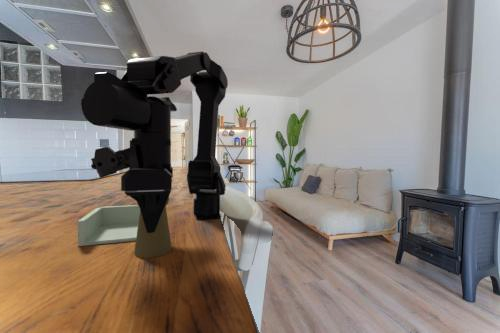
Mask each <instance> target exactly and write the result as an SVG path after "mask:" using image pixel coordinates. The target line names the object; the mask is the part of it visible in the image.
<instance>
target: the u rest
mask: <svg viewBox="0 0 500 333" xmlns="http://www.w3.org/2000/svg"><path fill="white" fill-rule="evenodd" d="M139 215H140V207H139V206H138V205H137V204H134V205H133V204H129V205H128V204H127V205H113V206H97V207H96V208H94V209H93V210H91V211H90V212H89V213H87V214H86V215H84V216H83V217H82V218H80V219H79V220H77V246H78V247H83V246H84V247H85V246H95V245H105V244H106V245H107V244H113V243H114V244H115V243H116V244H117V243H126V242H136V237H137V229H138V222H139Z"/></svg>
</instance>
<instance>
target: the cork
mask: <svg viewBox="0 0 500 333" xmlns="http://www.w3.org/2000/svg"><path fill="white" fill-rule="evenodd" d="M169 201H170V196H169V197H168V200H167V202H166V205H165V207H164V210H163V212H162V214H161V217H160V220H159V222H158V225H157V227H156V230H155V232H153V233H147V231H146V228H145V224H144V221H143V217H142V214H141V211H140V215H139V222H138V229H137V237H136V241H135V245H134V251H133V252H134V256H135V257H137V258H140V259H152V258H153V259H154V258H159V257H162V256H164V255H167V254H168V253H170V252H171V251H172V248H173V247H172V241H171V233H170V226H169V221H168V220H169V219H168V212H167V205H168V204H169ZM136 203H137V204H136V205H138V206H139V204H138V202H137V201H136Z"/></svg>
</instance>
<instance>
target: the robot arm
mask: <svg viewBox="0 0 500 333" xmlns="http://www.w3.org/2000/svg"><path fill="white" fill-rule="evenodd" d="M188 77H190V80H189V81H190V83H191V84H192V86H194V87H195V88H194V89H195V93H196V96H197V97H198V99H199V101H200V105H199V106H200V108H199V109H200V110H199V121H198V123H199V124H198V133H197V134H198V135H197V148H196V149H197V150H196V155H195V157H194V159H191V160H189V161H188V164H187V166H188V168H187V174H186V181H187V187H188V192H189V194H190V195H195V198H193V199H192V201H193V202H192V208H193V211H192V212H193V216H195V220H207V219H208V220H209V219H219V218H220V219H221V218H222V215H221V213H220V212H221V211H220V210H221V196H224V195H225V194H226V187H227V186H226V183H225V180H224V177H223V176H222V173H221V166H220V164H219V162H218V159H217V158H216V151H217V150H216V148H217V134H218V119H219V106H220V105H221V103H222V102H223V101H224V99H225V97H226V94H227V93H226V92H227V88H228V84H229V82H228V78H227V75H226V73H225V71H224V69H223V67H222V65H219V63H217V62H215V61H214V60H212V59H211V57H210V55H209V54H208V52H204V51H194V52H188V53H187V54H184V55H179V56H176V57H174V56H167V55H159V56H148V57H138V58H131V59H129V60H128V61H127V62H126V69H125V71H124V72H123V73H122V74H121V76H120V77H118V76H116V75H115V74H113V73H111V72H108V71H103V72H95V73H94V74H93V82H92V83H91V84H89V85H88V87H87V88H86V89H85V92H84V94H83V98H81V99H80V102H81V103H80V107H81V111H82V114H83V116H84V117H85V119H86V120H87V121H88V122H89V123H90V124H92V125H93V126H97V127H103V128H104V127H105V128H109V129H110V128H112V129H118V130H125V131H132V132H133V133H134V134H133V137H131V139H130V140H129V147H128V148H125V149H119V150H117V151H115V150H113V149H112V148H111V147H110V146H104V147H101V148H97V149H95V150H94V157H93V158H92V157H91V159H90V160H91V165H90V167H91V168H92V169H93V170H96V172H97V174H98V177H99V179H102V178H105V177H109V176H111V175H114V174H116V173H117V172H120V171H123V170H126V169H128V168H129V169H128V170H127V171H126V172H125V173H123V175H121V176H120V182H121V183H120V190H121V191H122V192H124V195H126V196H129V197H130V198H132V199H133V200H134V201H136V203H137V202H138V204H139V207H140V211H141V214H142V217H143V221H144V224H145V228H146V231H147V233H153V232H155V230H156V227H157V225H158V222H159V220H160V217H161V214H162V212H163V210H164V207H165V205H166V202H167V200H168V197H169V198H170V194H171V192H172V185H173V184H172V182H173V177H174V176H173V175H174V174H173V173H174V172H173V171H174V170H173V169H174V168H173V166H172V155H171V152H172V151H171V148H172V141H171V140H172V138H171V137H172V134H171V133H172V132H171V130H172V128H171V127H172V126H171V122H172V121H171V120H172V119H171V118H172V117H171V116H172V115H171V112H177V111H178V108H177V107H176V105H175V104H174V102H172V101H171V99H170V97H169V96H163V97H157V96H154V95H160V94H161V95H163V94H172V93H174V92H175V91H176V90H178V88H180V86H181V85H182V80H183V79H186V78H188ZM148 95H150V96H148ZM152 95H153V96H152ZM166 206H167V205H166Z"/></svg>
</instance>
